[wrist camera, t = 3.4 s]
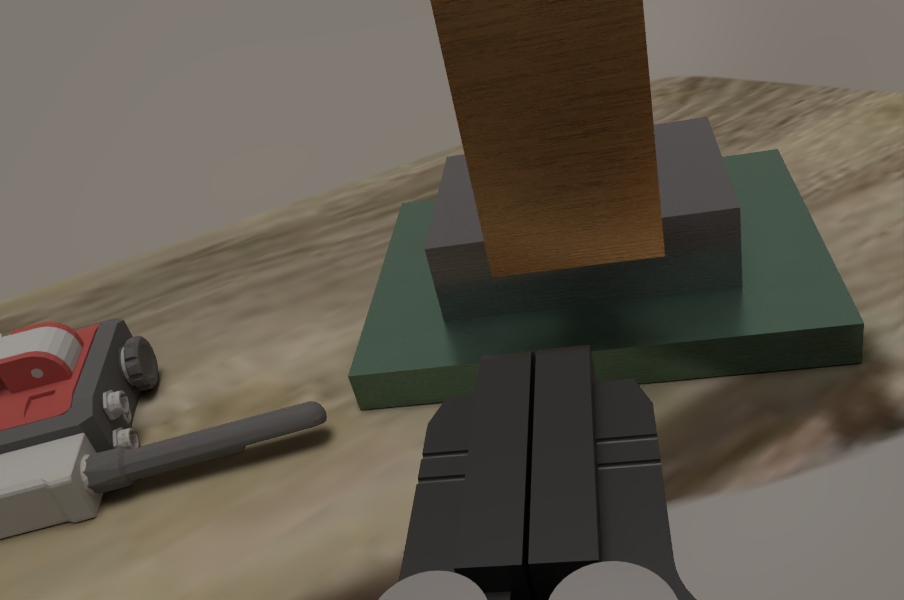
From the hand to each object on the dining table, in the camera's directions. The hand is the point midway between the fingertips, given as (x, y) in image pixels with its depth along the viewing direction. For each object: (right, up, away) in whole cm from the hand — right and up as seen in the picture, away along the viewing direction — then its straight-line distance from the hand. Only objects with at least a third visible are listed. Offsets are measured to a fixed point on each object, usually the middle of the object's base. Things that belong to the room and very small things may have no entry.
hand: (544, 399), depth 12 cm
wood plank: (+3, +5, +16) cm, 17 cm away
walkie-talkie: (-15, -4, +19) cm, 25 cm away
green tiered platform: (+4, +2, +20) cm, 21 cm away
